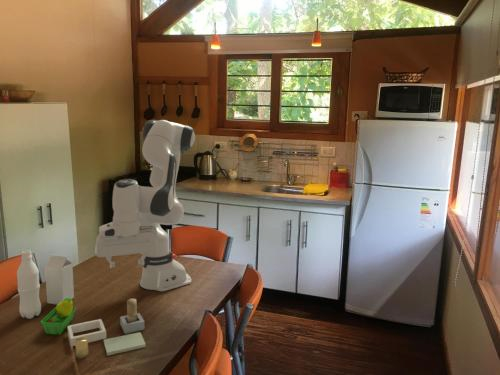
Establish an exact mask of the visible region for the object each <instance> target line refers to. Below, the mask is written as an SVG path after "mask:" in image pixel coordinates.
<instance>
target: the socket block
mask: <svg viewBox="0 0 500 375" xmlns="http://www.w3.org/2000/svg"><path fill="white" fill-rule="evenodd" d="M119 320H120V322H119V323H120V327H121V329H122V332H123V333H124V335H128V334H132V333H136V332H139V331H143V330H145V327H146V326H145V320H144V318H143V316H142V315H141V313H140V312H137V321H136V322H131V323H128V320H127V314H126V315H121V316H119Z"/></svg>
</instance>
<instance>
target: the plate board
mask: <svg viewBox="0 0 500 375" xmlns="http://www.w3.org/2000/svg"><path fill="white" fill-rule="evenodd" d="M103 345H104V349H105V353H106V356H107V357H108V356H112V355H115V354H117V355H118V354H121V353H125V352H129V351H134V350H138V349H142V348H146V347H147V345H146V340H145V339H144V337H143V335H142V333H141V332H139V331H137V332H133V333H128V334H123V335H121V336H120V335H119V336H116V337H115V336H114V337H111V338H110V337H109V338H106V339H103Z"/></svg>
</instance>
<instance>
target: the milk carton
mask: <svg viewBox="0 0 500 375" xmlns="http://www.w3.org/2000/svg"><path fill="white" fill-rule="evenodd" d="M73 268H74V267H73V262H71V261H70V260H68V258H67V256H66V255H56V254H50V257H49V259H48V261H47V263H46V265H45V266H44V270H45V271H44V273H45V275H44V276H45V286H46V302H47V304H51V305H56V306H57V305H58V304H59V303H60V302H62V301H64V299H65V298H71V299H72V300H73V299H74V298H75V291H74V290H75V289H74V270H73Z"/></svg>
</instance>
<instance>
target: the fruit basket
mask: <svg viewBox="0 0 500 375" xmlns="http://www.w3.org/2000/svg"><path fill="white" fill-rule="evenodd" d="M73 303H74V302H73V299H71V298H65V299H64V301H62V302H60V303H59V304H58V305H57V304H56V306H55V307H54V308H52V310H51V311H50V312H49V313H48V314H47V315H46V316H44V317H43V319H42V320H40V323H41V325H42V327H43V329H44V332H45V334H46V335H62V333H63V332H64V331H65V330H66V329H68V327H67V326H69V325H70V323H71V322H72V321H73V320H74V316H75V312H76V309H77V308H76V307H74V306H73Z"/></svg>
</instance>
